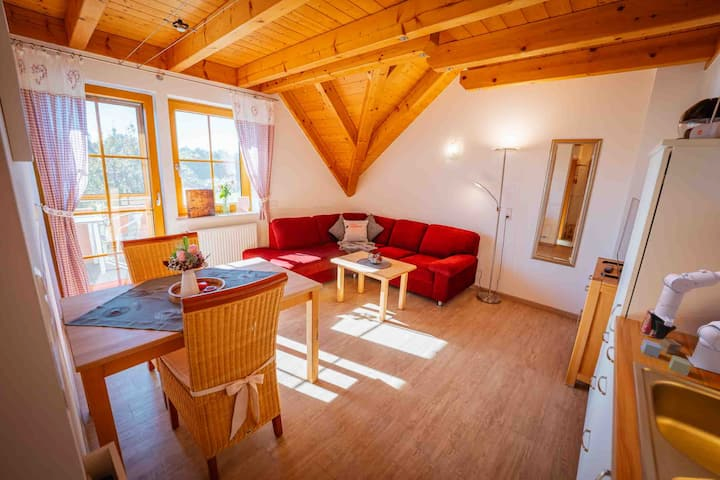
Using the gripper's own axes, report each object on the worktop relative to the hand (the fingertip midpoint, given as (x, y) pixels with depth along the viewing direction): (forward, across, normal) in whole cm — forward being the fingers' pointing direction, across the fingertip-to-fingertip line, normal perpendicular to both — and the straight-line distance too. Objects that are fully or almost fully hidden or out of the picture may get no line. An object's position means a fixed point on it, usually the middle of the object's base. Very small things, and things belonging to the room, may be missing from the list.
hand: (656, 334), depth 117 cm
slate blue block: (+9, 0, 0) cm, 9 cm away
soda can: (+9, -19, +3) cm, 22 cm away
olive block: (+9, +7, +7) cm, 14 cm away
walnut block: (+9, -8, +7) cm, 14 cm away
